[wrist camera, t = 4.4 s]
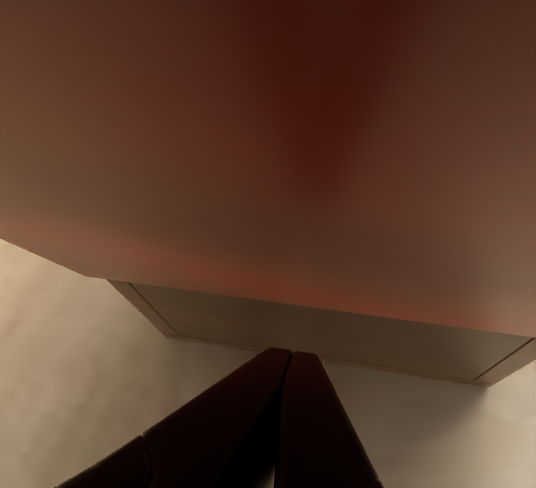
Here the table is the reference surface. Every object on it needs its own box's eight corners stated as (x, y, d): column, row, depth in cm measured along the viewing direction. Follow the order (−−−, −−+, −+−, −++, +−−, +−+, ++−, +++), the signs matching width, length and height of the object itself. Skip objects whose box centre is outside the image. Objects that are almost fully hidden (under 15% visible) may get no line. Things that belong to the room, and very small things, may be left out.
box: (225, 112, 27) (192, -16, 20) (487, 133, 25) (551, -4, 18) (165, 337, 22) (93, 269, 15) (489, 387, 20) (580, 334, 13)
